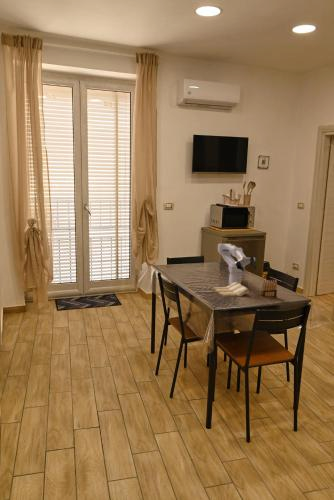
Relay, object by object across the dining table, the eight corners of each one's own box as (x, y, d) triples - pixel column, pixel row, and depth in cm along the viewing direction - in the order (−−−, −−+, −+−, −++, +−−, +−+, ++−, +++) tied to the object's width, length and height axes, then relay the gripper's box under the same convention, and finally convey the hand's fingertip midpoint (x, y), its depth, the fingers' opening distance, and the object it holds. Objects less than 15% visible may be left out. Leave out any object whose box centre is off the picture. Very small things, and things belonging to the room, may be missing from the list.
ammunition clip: (274, 296, 263) (276, 278, 261) (276, 297, 262) (278, 279, 259) (260, 297, 260) (262, 279, 257) (262, 298, 258) (264, 280, 256)
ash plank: (227, 289, 274) (226, 287, 273) (237, 283, 275) (235, 281, 275) (238, 297, 257) (237, 294, 256) (249, 291, 258) (247, 288, 258)
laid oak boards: (212, 290, 271) (213, 287, 271) (225, 289, 274) (225, 286, 273) (223, 298, 254) (223, 295, 254) (236, 297, 257) (237, 294, 256)
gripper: (231, 256, 270) (237, 266, 258) (251, 250, 271) (259, 260, 259) (232, 264, 273) (239, 275, 261) (252, 259, 274) (260, 269, 262)
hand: (249, 268), depth 260 cm, fingers open, 7 cm apart
